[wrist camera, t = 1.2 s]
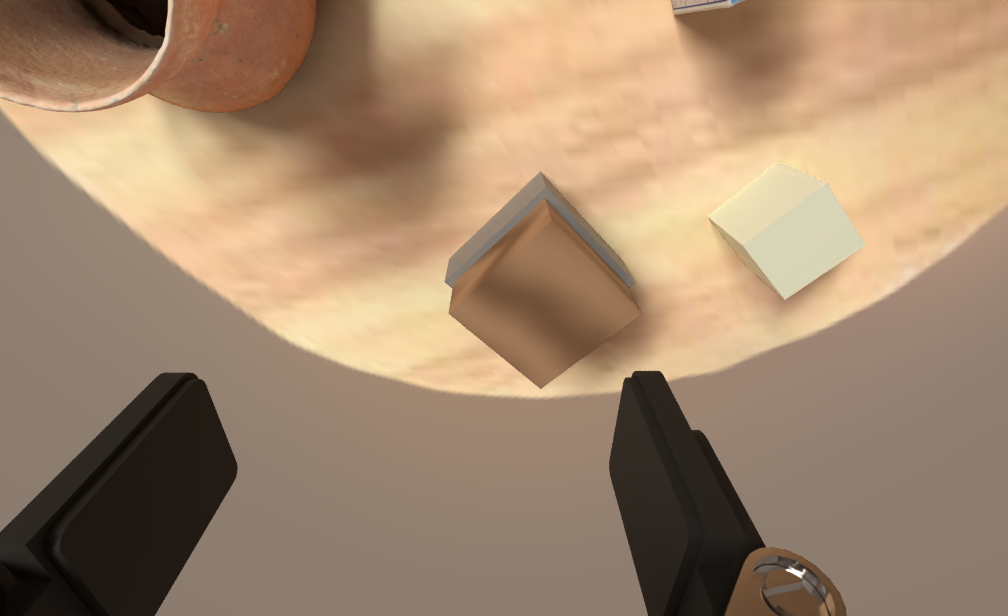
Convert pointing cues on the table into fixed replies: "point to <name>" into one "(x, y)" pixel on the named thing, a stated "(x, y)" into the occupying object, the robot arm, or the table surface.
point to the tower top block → (542, 297)
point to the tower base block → (516, 212)
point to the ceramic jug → (151, 51)
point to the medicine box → (701, 5)
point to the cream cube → (787, 228)
